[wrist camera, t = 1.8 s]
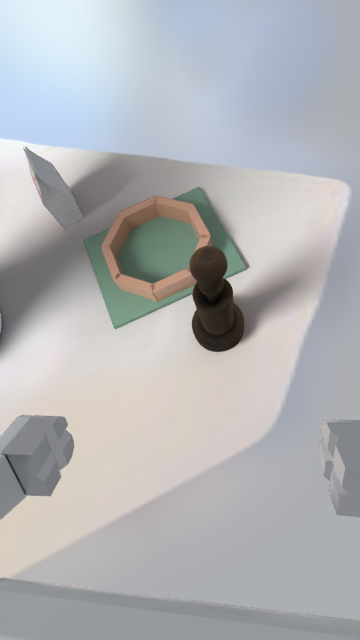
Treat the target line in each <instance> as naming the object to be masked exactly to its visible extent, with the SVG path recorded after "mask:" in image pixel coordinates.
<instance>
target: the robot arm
mask: <svg viewBox="0 0 360 640" xmlns="http://www.w3.org/2000/svg"><path fill="white" fill-rule="evenodd" d="M0 332H1V313H0ZM67 426H68V424H67V421H66V419H65V417H61V416H40V415H35V416H32V415H21V416H19V417H17V418H16V419H15V420H14V421H13V423H12V424H11V425H10V426H9V427H8V428H7V430H6V431H5V432H4V433H3V434H2V435H1V436H0V520H1V519H2V518H3V517H4V516H5V515H6V514H7V513H9V512H10V511H11V510H12V509H13V508H14V507H15V506H16V505H17V504H19V503H20V502H21V501H22V500H23V499H24V498H25V497H26V496H25V495H31V496H51V494H52V493H53V491H54V489H55V487H56V485H57V483H58V482H59V480H60V478H61V472H60V470H61V469H62V468H64V467H65V466H66V465H68V463H69V461H70V459H71V457H72V454H73V450H74V440H73V437H72V435H71V434H70V433H69V432H68V431H67V430H66V428H67ZM321 432H322V435H323V439H322V440H320V441H319V460H320V465H321V469H322V472H323V475H324V476H325V477H326V478H327V479H328V480H329V481H330V485H329V493H330V497H331V499H332V502H333V505H334V508H335V511H336V514H337V515H343V516H354V517H360V421H359V420H323V422H322V424H321ZM0 640H360V620H352V619H344V618H335V617H327V616H319V615H311V614H302V613H293V612H286V611H278V610H270V609H261V608H253V607H245V606H236V605H228V604H220V603H212V602H203V601H195V600H186V599H179V598H170V597H162V596H154V595H146V594H137V593H129V592H120V591H112V590H104V589H96V588H88V587H80V586H71V585H62V584H54V583H46V582H38V581H30V580H21V579H13V578H5V577H0Z"/></svg>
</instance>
